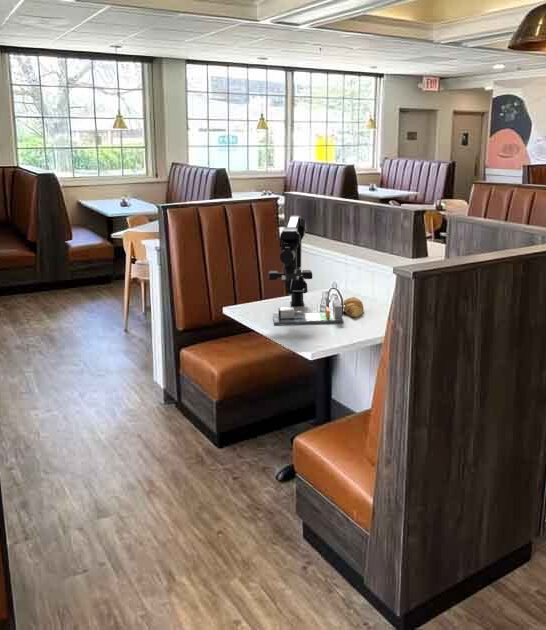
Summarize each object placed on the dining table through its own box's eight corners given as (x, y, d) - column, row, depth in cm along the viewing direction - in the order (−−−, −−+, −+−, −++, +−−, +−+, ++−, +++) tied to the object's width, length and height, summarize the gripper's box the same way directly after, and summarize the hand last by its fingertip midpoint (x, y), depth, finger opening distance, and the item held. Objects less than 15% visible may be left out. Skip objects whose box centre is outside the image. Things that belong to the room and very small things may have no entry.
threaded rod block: (278, 315, 279) (278, 307, 278) (302, 314, 279) (302, 306, 278) (278, 318, 274) (278, 310, 273) (303, 317, 275) (303, 309, 274)
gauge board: (273, 316, 283) (273, 300, 281) (339, 314, 284) (339, 299, 282) (274, 325, 271) (273, 309, 269) (343, 323, 271) (343, 307, 269)
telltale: (325, 313, 280) (325, 306, 279) (328, 313, 280) (328, 306, 279) (327, 317, 274) (327, 311, 273) (329, 317, 274) (329, 311, 273)
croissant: (361, 326, 278) (370, 311, 276) (341, 316, 277) (350, 301, 274) (354, 311, 298) (363, 297, 296) (336, 302, 297) (344, 288, 294)
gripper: (268, 263, 261) (269, 299, 266) (313, 262, 261) (313, 298, 266) (268, 258, 272) (268, 292, 276) (311, 257, 272) (311, 291, 277)
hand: (290, 294), depth 274 cm, fingers closed
